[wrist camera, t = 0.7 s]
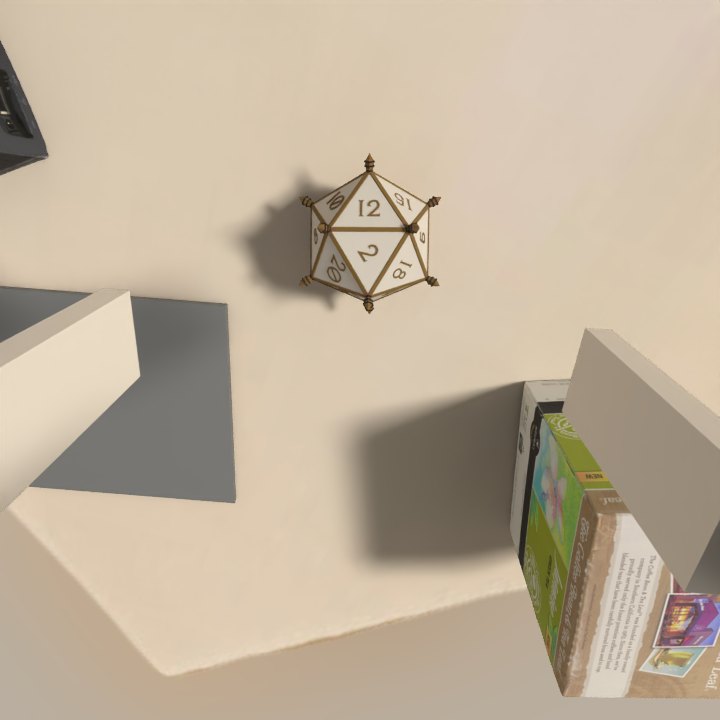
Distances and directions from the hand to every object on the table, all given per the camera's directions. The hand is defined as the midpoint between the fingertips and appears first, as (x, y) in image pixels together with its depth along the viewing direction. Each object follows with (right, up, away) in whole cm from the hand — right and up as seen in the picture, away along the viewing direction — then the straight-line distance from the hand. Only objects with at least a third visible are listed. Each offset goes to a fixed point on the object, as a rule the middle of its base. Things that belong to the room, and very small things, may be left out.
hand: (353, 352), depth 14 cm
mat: (-19, -4, +25) cm, 32 cm away
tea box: (+18, -8, +26) cm, 32 cm away
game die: (+1, +9, +19) cm, 21 cm away
